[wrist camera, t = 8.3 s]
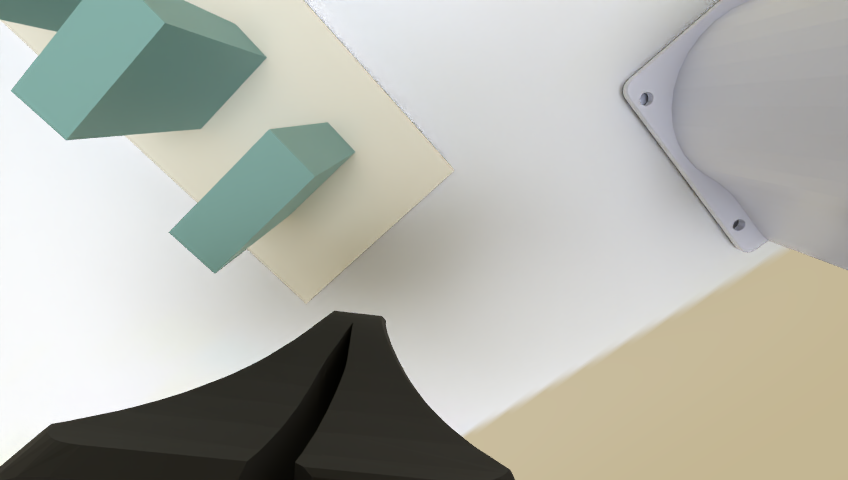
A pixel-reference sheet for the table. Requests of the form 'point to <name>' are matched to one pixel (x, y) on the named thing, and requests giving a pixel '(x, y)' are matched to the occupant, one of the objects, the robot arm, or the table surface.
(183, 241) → the teal green rectangular block
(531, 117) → the table surface
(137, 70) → the tile
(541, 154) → the table surface
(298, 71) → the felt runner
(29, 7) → the teal rectangular block
